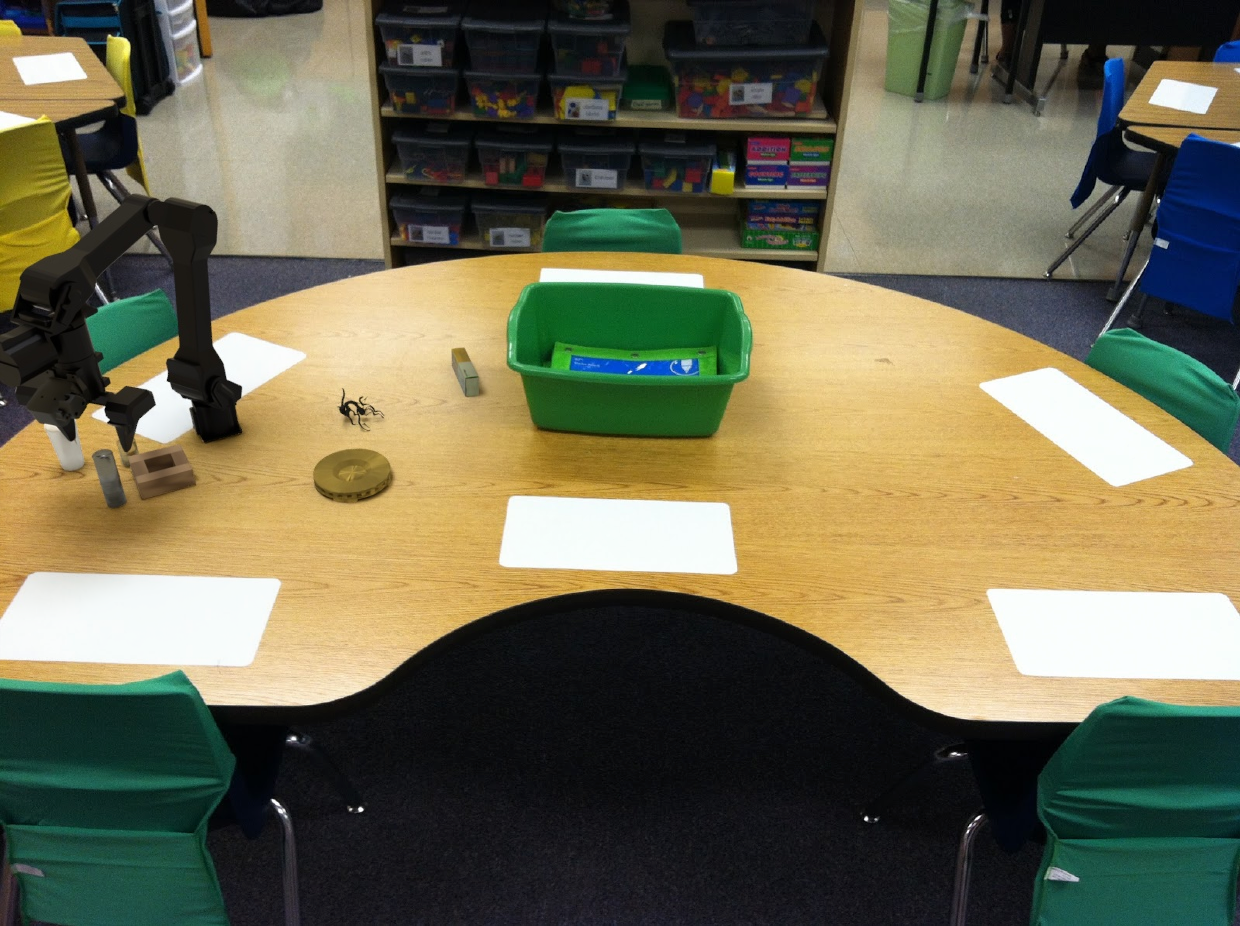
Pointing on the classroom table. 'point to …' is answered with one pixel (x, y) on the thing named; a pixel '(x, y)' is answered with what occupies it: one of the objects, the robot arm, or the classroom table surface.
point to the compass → (352, 474)
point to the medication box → (465, 372)
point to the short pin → (125, 455)
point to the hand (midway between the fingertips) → (100, 445)
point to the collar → (161, 471)
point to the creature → (359, 409)
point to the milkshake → (66, 448)
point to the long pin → (109, 478)
